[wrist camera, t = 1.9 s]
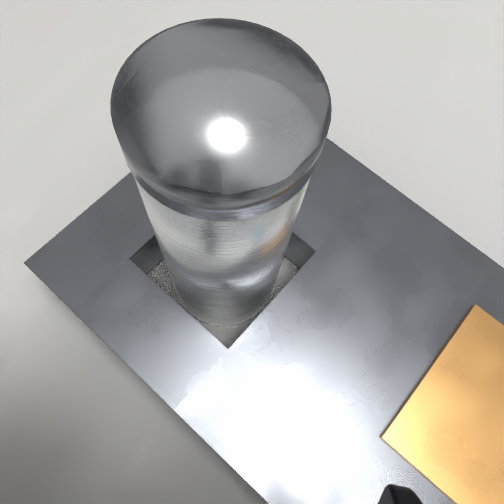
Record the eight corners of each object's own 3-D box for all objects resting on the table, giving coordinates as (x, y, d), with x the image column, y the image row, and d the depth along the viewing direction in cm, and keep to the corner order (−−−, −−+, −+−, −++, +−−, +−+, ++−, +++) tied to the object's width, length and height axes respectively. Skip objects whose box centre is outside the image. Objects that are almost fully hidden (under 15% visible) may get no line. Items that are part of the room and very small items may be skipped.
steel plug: (227, 349, 21) (229, 243, 9) (151, 279, 22) (62, 102, 10) (295, 273, 23) (374, 97, 11) (221, 211, 24) (217, -12, 12)
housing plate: (491, 716, 17) (550, 780, 14) (49, 284, 22) (20, 260, 19) (638, 416, 21) (709, 414, 18) (241, 114, 26) (243, 71, 23)
